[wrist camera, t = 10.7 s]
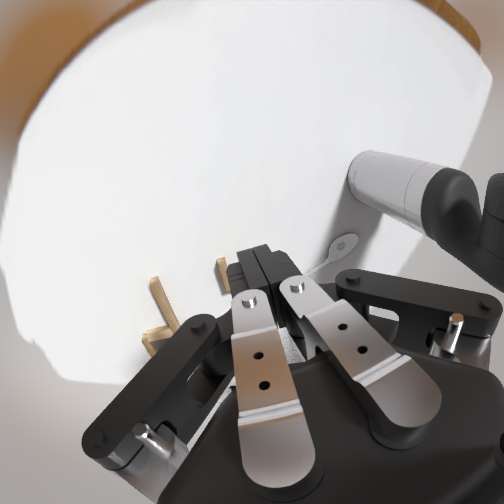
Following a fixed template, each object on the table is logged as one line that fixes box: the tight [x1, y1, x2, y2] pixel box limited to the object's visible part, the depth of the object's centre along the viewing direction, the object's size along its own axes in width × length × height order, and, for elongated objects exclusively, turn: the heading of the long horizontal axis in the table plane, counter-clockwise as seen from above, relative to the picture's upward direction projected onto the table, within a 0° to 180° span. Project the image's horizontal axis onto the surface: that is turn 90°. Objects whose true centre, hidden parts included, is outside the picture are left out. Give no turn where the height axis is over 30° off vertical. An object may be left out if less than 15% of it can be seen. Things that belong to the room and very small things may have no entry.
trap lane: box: [142, 257, 230, 372], centre depth 46 cm, size 25×23×3 cm
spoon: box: [303, 234, 359, 277], centre depth 47 cm, size 4×21×2 cm, turn 126°
